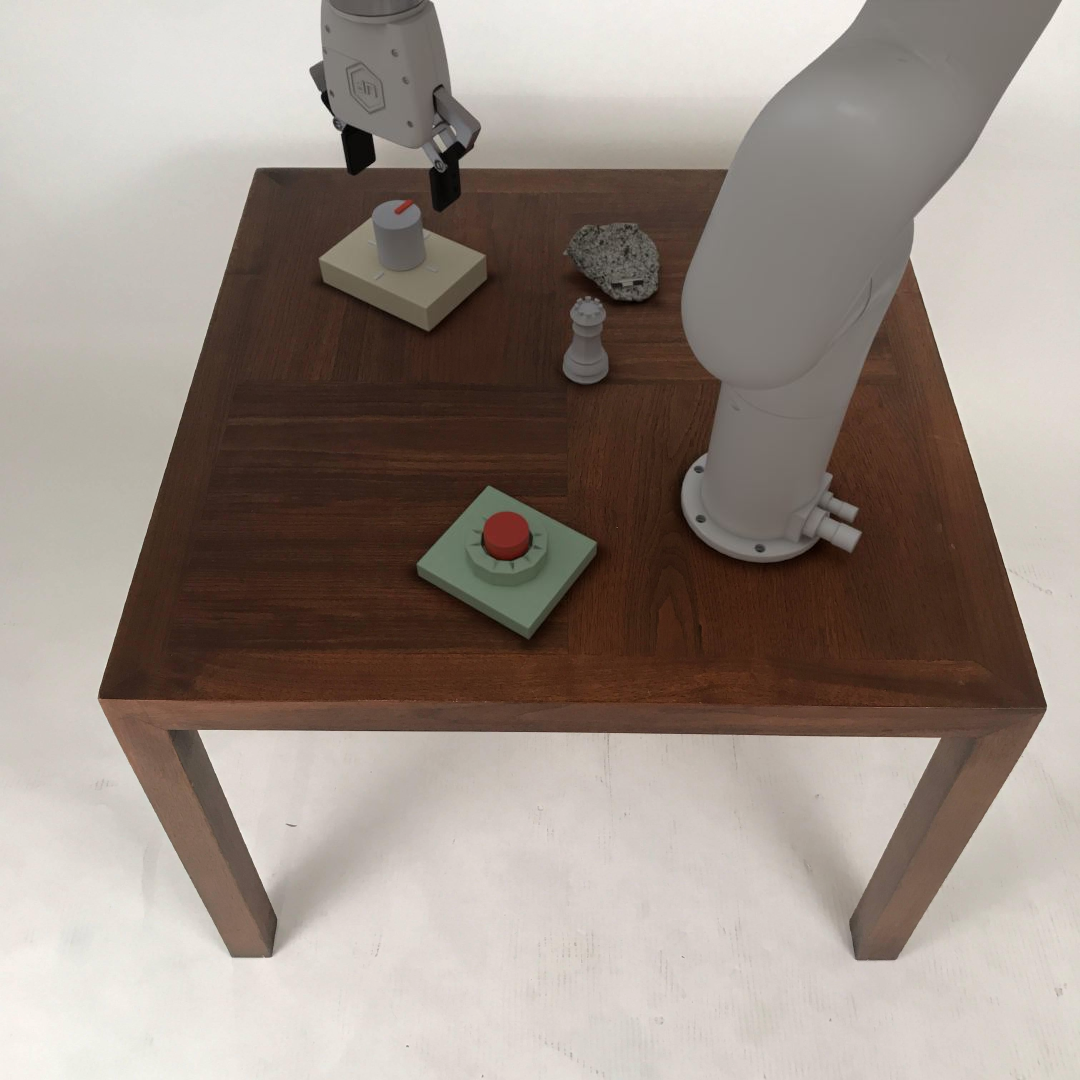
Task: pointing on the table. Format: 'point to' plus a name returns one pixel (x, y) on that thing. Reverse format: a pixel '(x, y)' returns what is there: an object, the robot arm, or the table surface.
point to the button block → (507, 564)
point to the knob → (399, 235)
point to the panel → (405, 276)
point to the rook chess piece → (586, 343)
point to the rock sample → (617, 259)
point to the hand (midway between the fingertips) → (404, 185)
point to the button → (506, 535)
